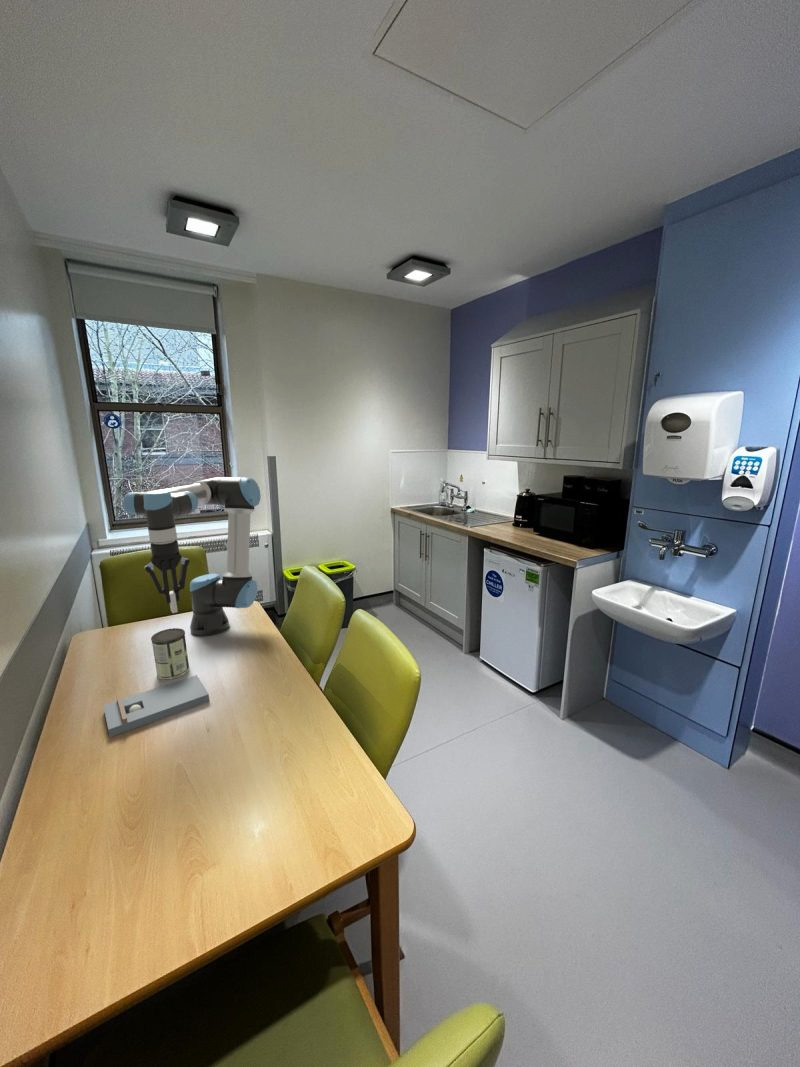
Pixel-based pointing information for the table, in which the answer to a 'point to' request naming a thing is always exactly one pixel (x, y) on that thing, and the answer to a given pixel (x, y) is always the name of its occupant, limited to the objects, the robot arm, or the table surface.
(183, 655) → the coffee can
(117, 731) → the deck
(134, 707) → the ball
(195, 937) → the table surface
